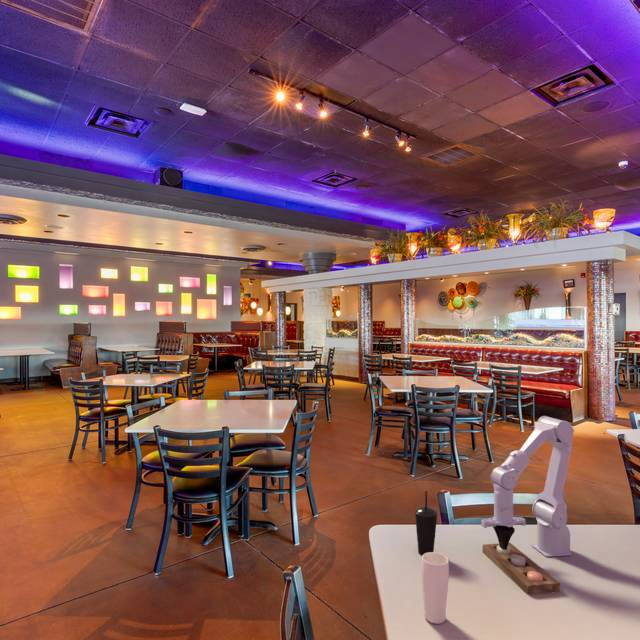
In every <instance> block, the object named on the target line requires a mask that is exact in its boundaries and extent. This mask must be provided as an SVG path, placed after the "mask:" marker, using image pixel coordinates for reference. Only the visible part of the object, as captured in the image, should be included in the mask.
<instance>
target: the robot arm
mask: <svg viewBox="0 0 640 640" xmlns="http://www.w3.org/2000/svg"><path fill="white" fill-rule="evenodd" d="M574 432H575V429H574V427H573V426H572V424H571V423H570V422H569V421H567V420H563V419H562V420H561V419H558V418H553V417H550V416H547V415H542V416H540V417H539V418H538V420H537V421H536V422H534V430H533V431H532V433H530V435H529V437H528V438H527V440H526V441H525V442H524V443H523V445H522V446H521V448H520V449H518V450H517V449H516V450H513V451H511V452H510V453H509V456H508V457H507V458H506V459H505V460H504V461H503V463H502V464H501V465H500V466H497V467H495V468H493V469H492V471H491V474H490V475H489V478H490V480H491V482H492V485H493V491H494V492H493V516H492V517H488V518H483V519H481V520H480V522H481V523H480V525H481V526H482V528H484V529H487V528H493V530H494V532H495V534H496V538H497V541H498V544H499V546H500V548H502V549H503V550H507V547H508V543H510V540H511V538H512V537H513V534H514V533H515V530H516V529H515V527H514V526H522V527H524V526H526V519H525V518H523V516H519V517H517V516H514V488H515V487H516V486H517V484H518V482H519V478H520V475H521V473H522V472H523V471H524V470H525V469H526V467H528V465H529V464H530V457H531V456H532V455H533V454H534V453H535V452H536V451H537V450H538V449H539V447H541V446H542V445H543V444H544V443H545V442H549V443H550V444H551V445H552V451H551V455H550V460H549V465H548V469H547V475H546V479H545V483H544V488H543V491H542V492H540V493H538V494H537V495H536V497H535V498H536V499H535V501H534V502H533V503H532V507H531V508H532V509H531V510H532V514H533V515H534V517H535V520H536V521H537V524H536V526H537V530H536V531H537V534H536V535H537V539H536V542H537V543H532V544H531V546H532V547H533V548H534V549H535V550H536V551H538V552H539V553H540V554H542V555H543V556H545V557H547V558H550V557H551V558H552V557H563V556H566V557H567V556H572V555H573V553H572V552H571V533H570V529H569V527H568V526H567V525H566V524H567V522H568V513H567V512H568V505H567V503H566V502H565V500H564V499H563V493H564V487H565V483H566V478H567V473H568V469H569V463H570V460H571V459H570V458H571V453H572V449H573V438H574Z"/></svg>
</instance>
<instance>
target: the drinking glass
mask: <svg viewBox="0 0 640 640" xmlns="http://www.w3.org/2000/svg"><path fill="white" fill-rule="evenodd" d="M449 579H450V562H449V558H448V557H447V556H446V555H444V554H442V553H439V552H436V551H434V552H428V553H425V554H423V555H421V584H422V597H423V598H422V599H423V617H424V618H425V619H427V621H428V622H429V621H430V622H429V623H431V624H434V623H435V625H439V624H440V623H441V624H443V623H444V622H445V620H446V617H447V615H446V613H447V599H448V592H449V591H448V590H449V583H450V582H449V581H450V580H449Z"/></svg>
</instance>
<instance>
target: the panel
mask: <svg viewBox="0 0 640 640" xmlns="http://www.w3.org/2000/svg"><path fill="white" fill-rule="evenodd" d="M498 545H499V543H490V544H489V543H487V544H482V554H484V556H486V557H487V558H488V559H489V560H490V561H491V562H492V563H493V564H494V565H495V566H496V567H497V568H499V570H501V572H503V573H504V574H505V575H506V576H507V577H508V578H509V579H510V580H511V581H512V582H513V583H515V584H516V586H518V587H519V588H520V589H521V590H522V591H523V592H524V593H525V594H526V595H527V596H529V595H530V596H531V595H541V594H552V592H555V593H560V592H561V582H560V581H558V580H557V579H556V578H554V577H553V576H552V575H551V574H550V573H548V572H547V571H546V570H545V569H544V568H542V567H541V566H540V565H538V564H537V563H536V562H535V561H533V560H532V559H531V558H530V557H528V556H527V555H526V553H525V554H524V552H522V551H521V550H520V549H519V548H517V547H516V546H515V545H514V544H512V543H511V542H509V543H508V547H509V548H510V553H506V554H500V553H499V552H498V551H497V546H498ZM512 555H520V556H523V557H524V558H525V566H524V567H515V566H514V565H513V564H511V556H512ZM529 571H535V572H538V573H540V574H541V575H542V576H543V581H539V582H532V581H531V580H530V579H528V578H527V572H529Z"/></svg>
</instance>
